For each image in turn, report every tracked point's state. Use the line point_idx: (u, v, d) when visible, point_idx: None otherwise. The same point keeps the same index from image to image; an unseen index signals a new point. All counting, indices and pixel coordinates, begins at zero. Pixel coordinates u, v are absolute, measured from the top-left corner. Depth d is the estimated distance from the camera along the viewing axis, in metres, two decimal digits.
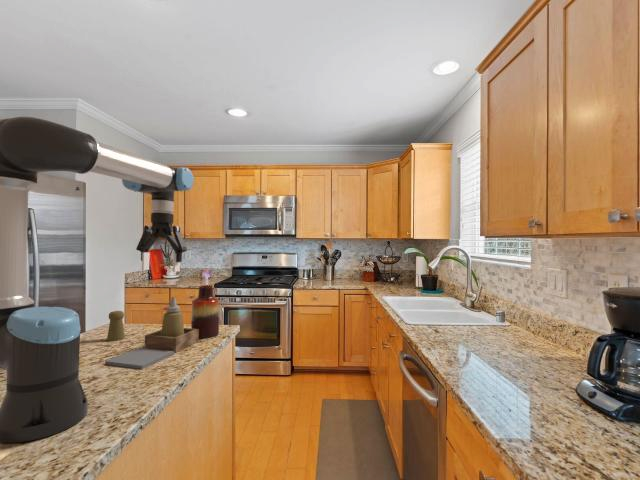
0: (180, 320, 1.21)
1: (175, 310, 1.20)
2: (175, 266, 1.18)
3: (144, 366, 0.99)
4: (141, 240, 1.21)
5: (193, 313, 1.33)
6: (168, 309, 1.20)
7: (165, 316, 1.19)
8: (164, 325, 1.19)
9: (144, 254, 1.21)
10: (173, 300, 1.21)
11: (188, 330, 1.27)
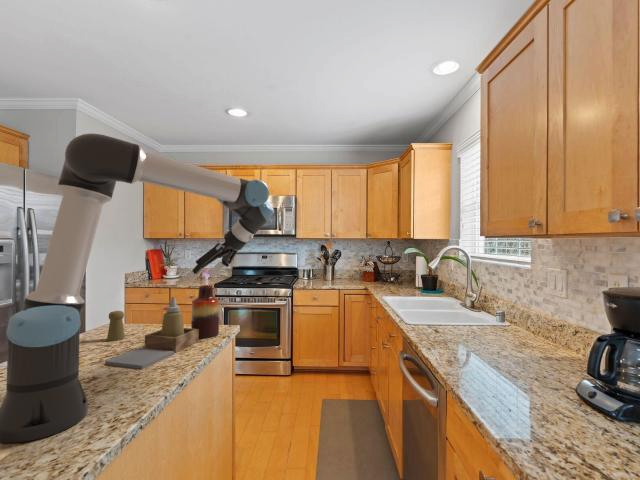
0: (180, 320, 1.21)
1: (175, 310, 1.20)
2: (190, 273, 1.12)
3: (144, 366, 0.99)
4: None
5: (193, 313, 1.33)
6: (168, 309, 1.20)
7: (165, 316, 1.19)
8: (164, 325, 1.19)
9: (218, 263, 1.25)
10: (173, 300, 1.21)
11: (188, 330, 1.27)
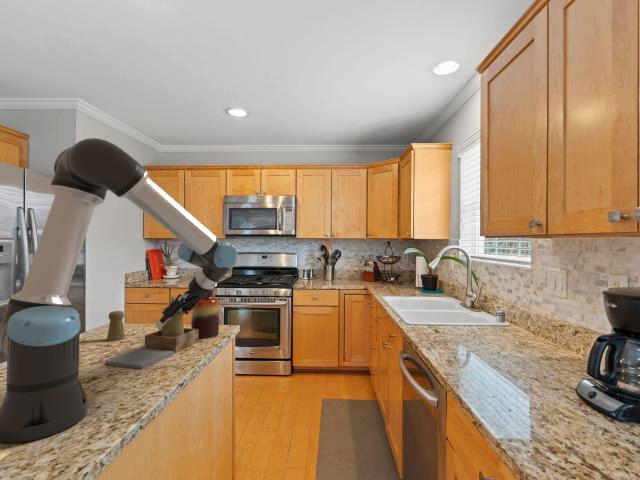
0: (180, 320, 1.21)
1: None
2: (158, 322, 1.19)
3: (144, 366, 0.99)
4: None
5: (193, 313, 1.33)
6: None
7: None
8: (164, 325, 1.19)
9: (178, 310, 1.25)
10: (173, 300, 1.21)
11: (188, 330, 1.27)
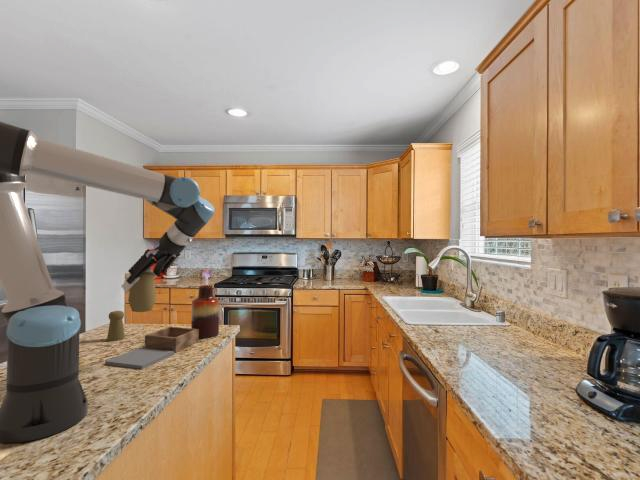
0: (150, 281, 1.07)
1: None
2: (125, 283, 1.05)
3: (144, 366, 0.99)
4: None
5: (193, 313, 1.33)
6: None
7: None
8: (132, 286, 1.05)
9: None
10: None
11: (188, 330, 1.27)
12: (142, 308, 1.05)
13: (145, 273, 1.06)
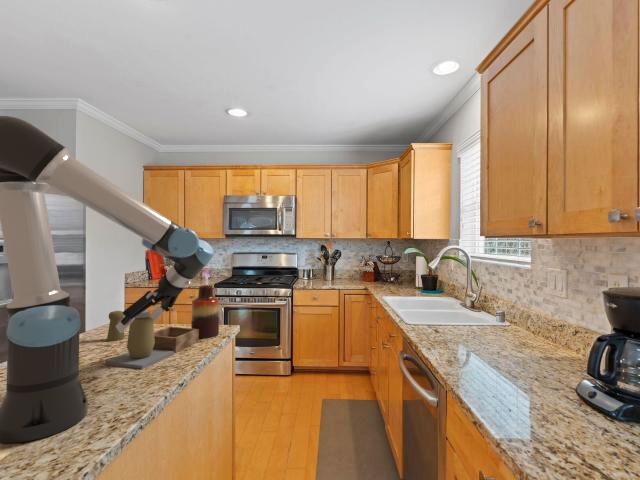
0: (149, 327, 1.06)
1: (144, 315, 1.06)
2: (120, 323, 1.01)
3: (144, 366, 0.99)
4: None
5: (193, 313, 1.33)
6: None
7: (132, 322, 1.05)
8: (131, 333, 1.04)
9: (157, 307, 1.13)
10: None
11: (188, 330, 1.27)
12: (141, 354, 1.04)
13: (144, 318, 1.06)
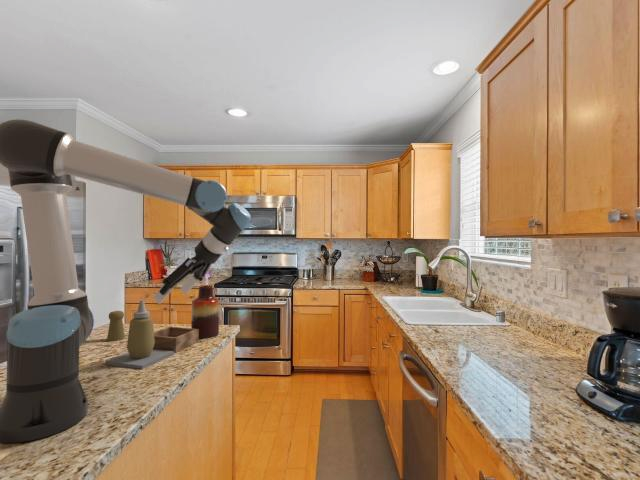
0: (149, 327, 1.06)
1: (144, 316, 1.06)
2: (157, 294, 0.97)
3: (144, 366, 0.99)
4: None
5: (193, 313, 1.33)
6: (135, 315, 1.05)
7: (132, 323, 1.04)
8: (130, 333, 1.04)
9: (190, 277, 1.10)
10: (141, 304, 1.07)
11: (188, 330, 1.27)
12: (141, 354, 1.04)
13: (144, 319, 1.06)
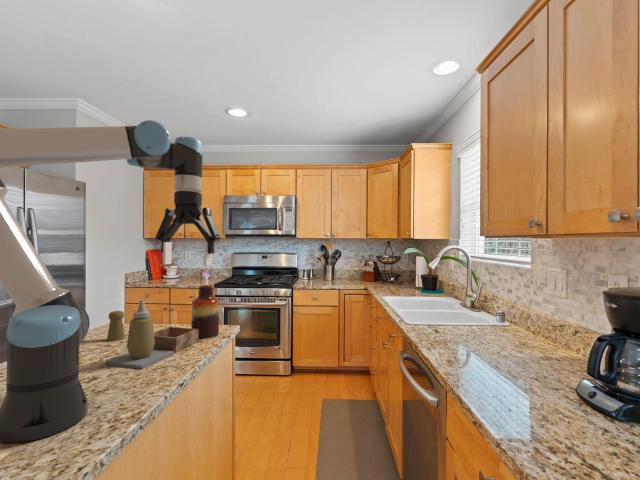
0: (149, 327, 1.06)
1: (143, 316, 1.06)
2: (207, 258, 0.93)
3: (144, 366, 0.99)
4: (161, 227, 0.96)
5: (193, 313, 1.33)
6: (135, 315, 1.05)
7: (132, 323, 1.04)
8: (130, 333, 1.04)
9: (166, 244, 0.96)
10: (141, 304, 1.07)
11: (188, 330, 1.27)
12: (141, 354, 1.04)
13: (144, 319, 1.06)
